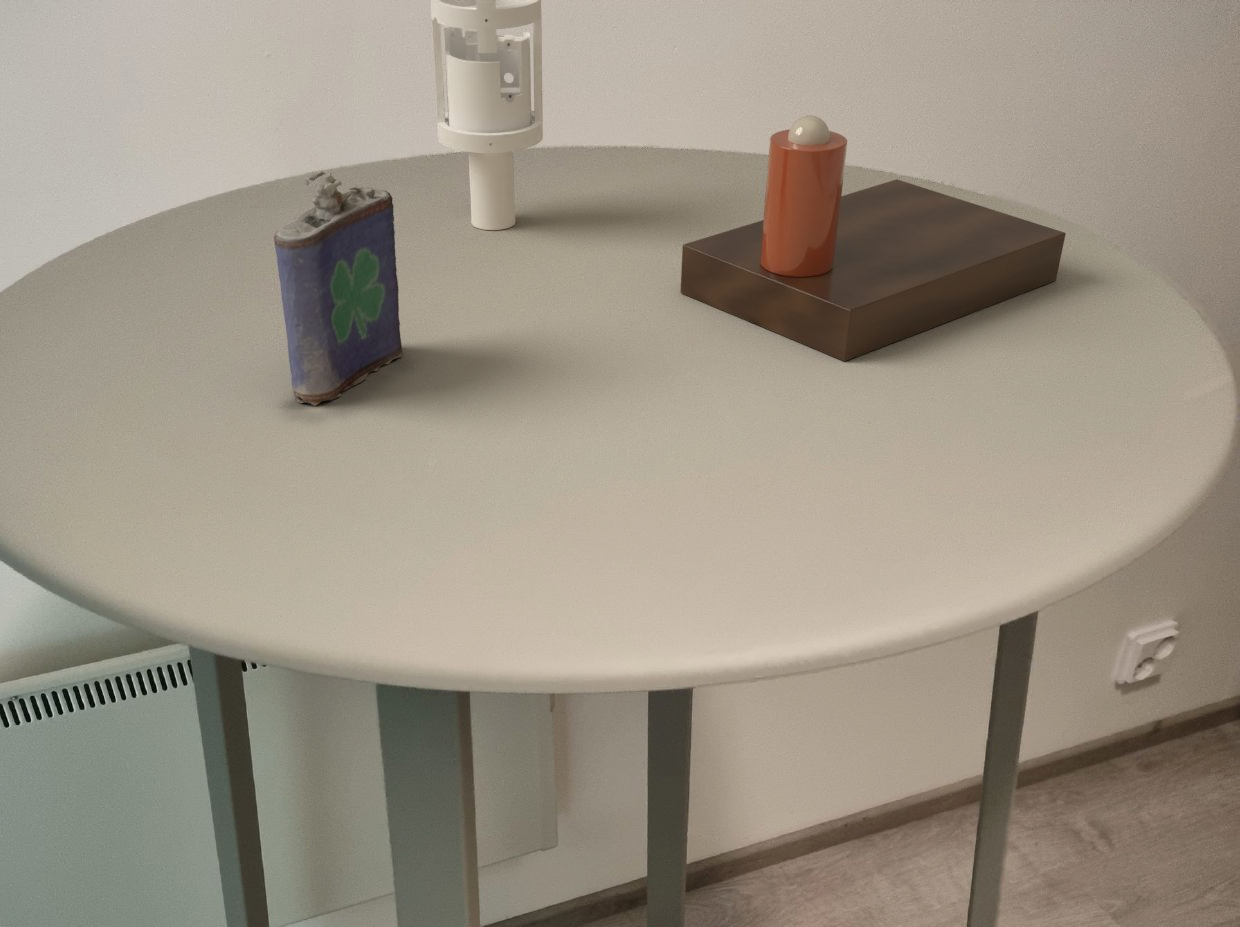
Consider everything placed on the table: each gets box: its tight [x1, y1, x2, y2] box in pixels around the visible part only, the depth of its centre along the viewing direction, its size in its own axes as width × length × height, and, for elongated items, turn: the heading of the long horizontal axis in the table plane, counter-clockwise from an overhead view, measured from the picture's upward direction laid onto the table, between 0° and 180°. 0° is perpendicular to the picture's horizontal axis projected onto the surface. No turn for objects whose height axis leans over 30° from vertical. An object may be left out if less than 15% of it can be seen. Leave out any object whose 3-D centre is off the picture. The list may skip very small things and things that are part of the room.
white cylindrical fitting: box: [429, 0, 544, 231], centre depth 100 cm, size 7×7×15 cm
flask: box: [273, 170, 403, 406], centre depth 82 cm, size 9×3×11 cm, turn 151°
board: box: [680, 179, 1067, 362], centre depth 95 cm, size 14×20×3 cm
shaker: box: [760, 115, 848, 277], centre depth 88 cm, size 4×4×8 cm
